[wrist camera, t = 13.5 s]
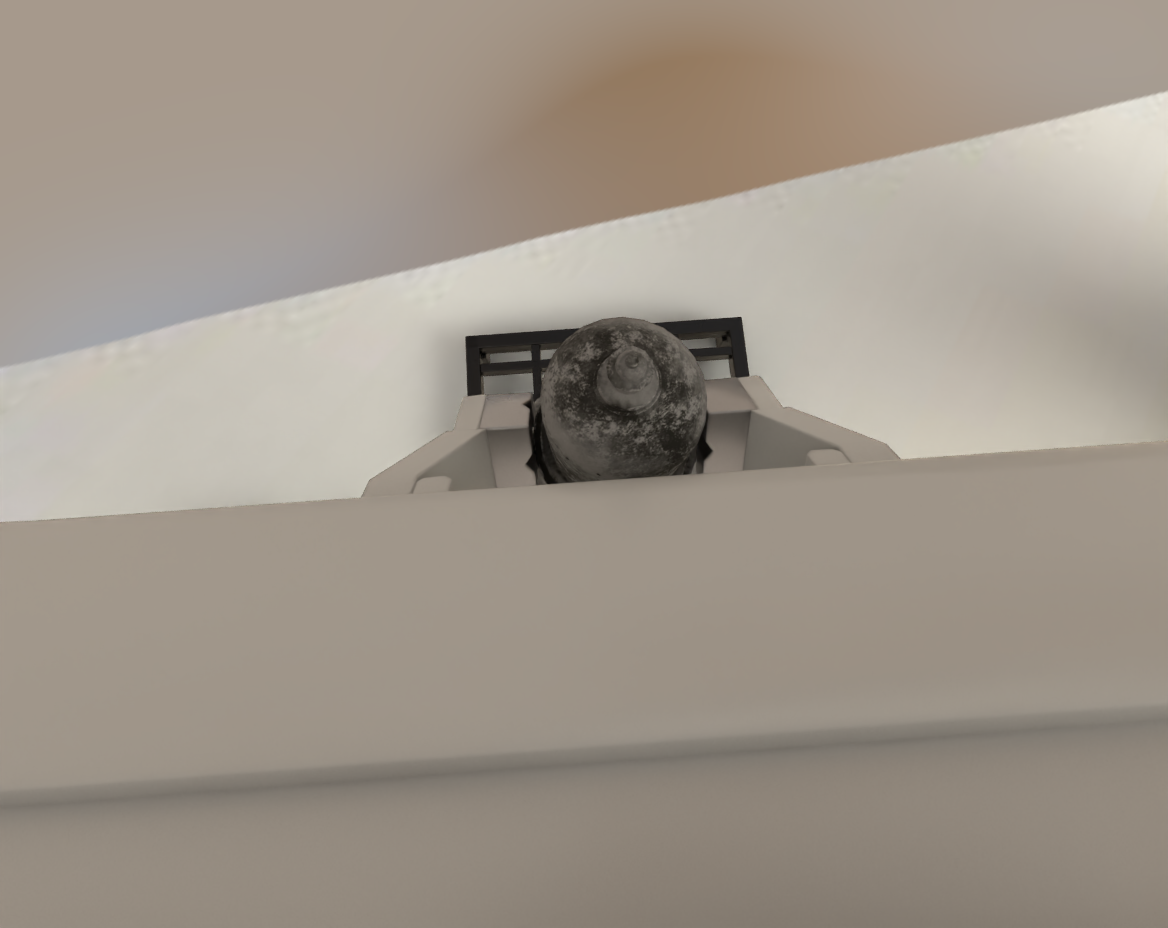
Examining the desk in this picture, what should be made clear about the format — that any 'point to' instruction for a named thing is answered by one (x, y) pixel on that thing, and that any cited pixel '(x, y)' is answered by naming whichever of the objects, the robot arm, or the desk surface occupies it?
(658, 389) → the grey stone turned piece
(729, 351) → the grate
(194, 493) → the desk surface
